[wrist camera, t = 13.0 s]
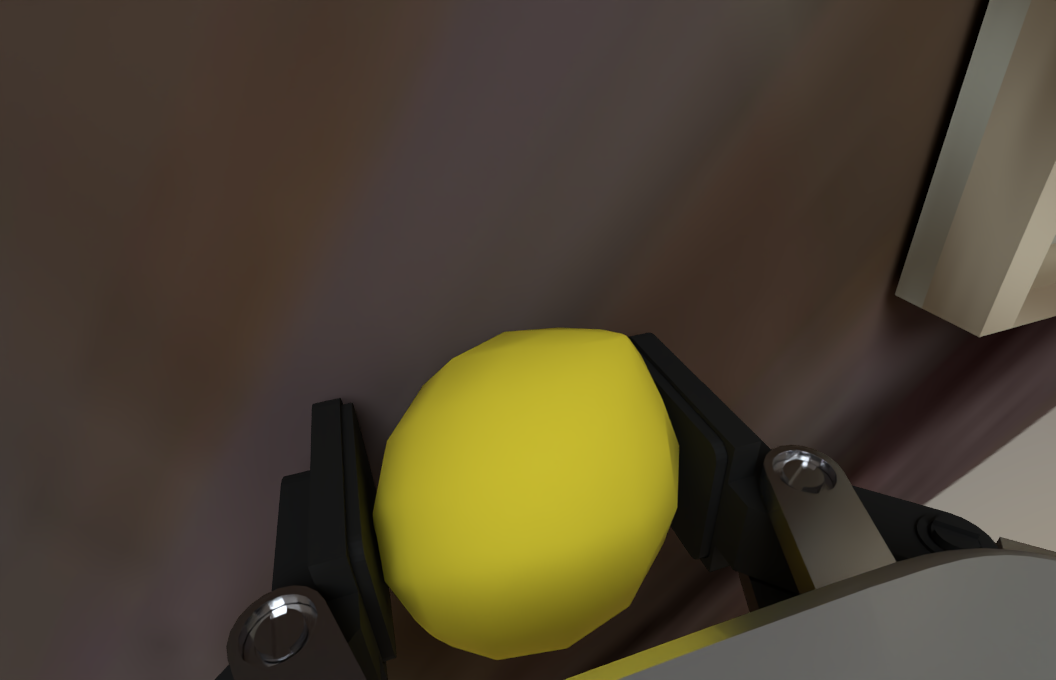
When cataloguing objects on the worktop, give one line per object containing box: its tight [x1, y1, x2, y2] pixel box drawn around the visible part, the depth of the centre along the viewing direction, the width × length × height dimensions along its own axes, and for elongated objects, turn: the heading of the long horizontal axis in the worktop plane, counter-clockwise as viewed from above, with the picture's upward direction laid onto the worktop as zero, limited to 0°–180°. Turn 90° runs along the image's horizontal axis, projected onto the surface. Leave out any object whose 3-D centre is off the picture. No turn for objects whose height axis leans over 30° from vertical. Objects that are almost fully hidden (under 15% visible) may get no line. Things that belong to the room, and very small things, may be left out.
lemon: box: [373, 328, 679, 660], centre depth 11 cm, size 7×5×5 cm
